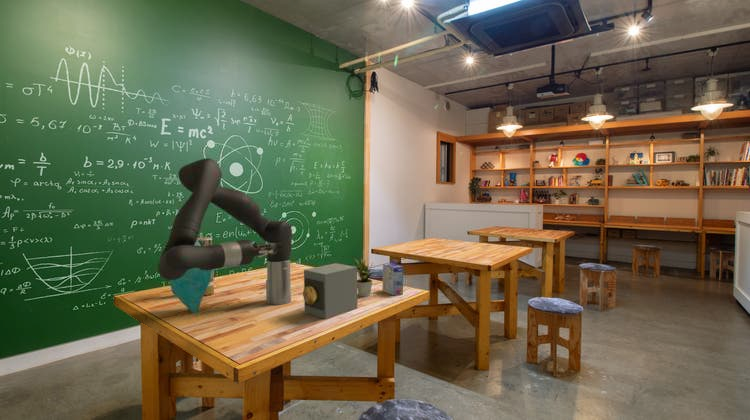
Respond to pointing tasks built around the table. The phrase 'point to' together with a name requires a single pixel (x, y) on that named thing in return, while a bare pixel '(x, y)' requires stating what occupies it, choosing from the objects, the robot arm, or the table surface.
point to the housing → (334, 289)
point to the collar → (320, 288)
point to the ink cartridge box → (393, 278)
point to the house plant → (364, 279)
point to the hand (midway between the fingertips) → (283, 246)
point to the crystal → (191, 287)
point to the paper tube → (210, 288)
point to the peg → (310, 294)
